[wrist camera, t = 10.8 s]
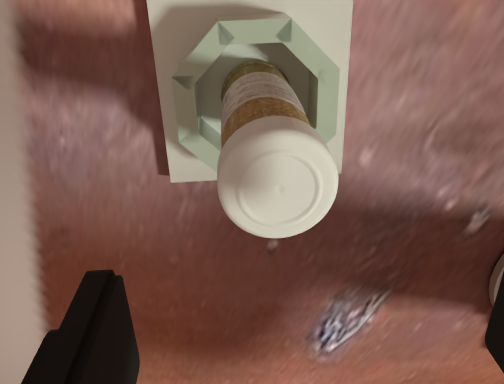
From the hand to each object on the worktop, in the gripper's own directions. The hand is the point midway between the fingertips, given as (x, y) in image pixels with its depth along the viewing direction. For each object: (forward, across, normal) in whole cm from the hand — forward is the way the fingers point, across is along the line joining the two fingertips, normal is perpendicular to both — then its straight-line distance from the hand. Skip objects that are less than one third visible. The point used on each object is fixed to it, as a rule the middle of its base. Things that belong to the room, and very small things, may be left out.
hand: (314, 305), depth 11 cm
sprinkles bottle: (+20, 0, 0) cm, 20 cm away
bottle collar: (+20, +1, 0) cm, 20 cm away
